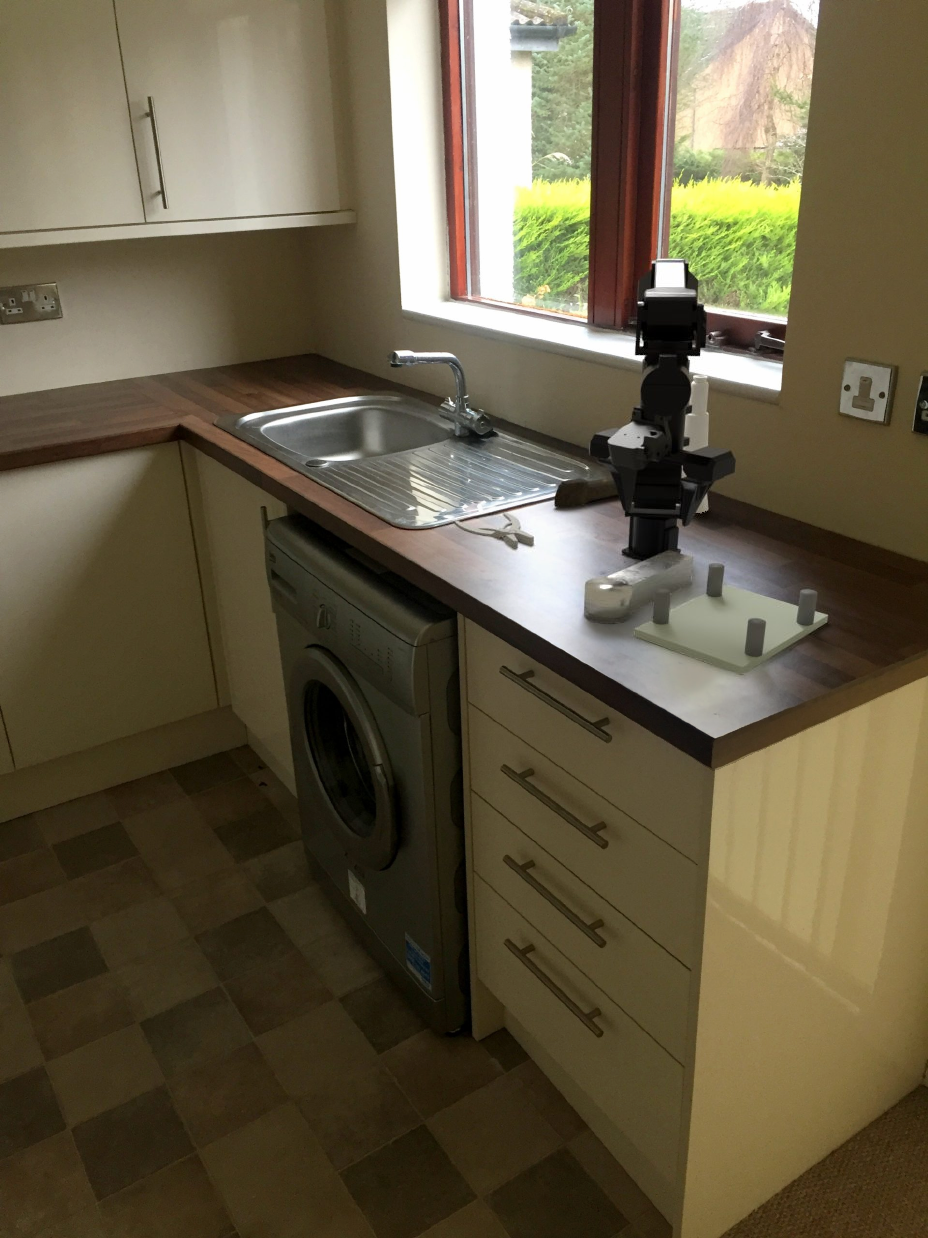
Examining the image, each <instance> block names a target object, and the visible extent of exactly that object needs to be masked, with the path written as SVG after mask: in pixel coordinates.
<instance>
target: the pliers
mask: <svg viewBox="0 0 928 1238" xmlns="http://www.w3.org/2000/svg"><path fill="white" fill-rule="evenodd" d="M502 515H503V516H504V517H505V518H507V519H508V522H507V523H505V524H504V525H503V526H502V527H499V528H498V529H497V528H493V527H482V526H481V527H474V526H470V525H467V523H463V522H461V521H459V520H454V524H455V525H456V526H458V527H459V528H460V529H461V530H463V531H466V532H468V533H470V534H471V533H472V534H476V535H480V536H487V537H493V538H498V539H500V538H502V539H503V541H504V542H505V543H507V544H508V545H509V546H511V547H512V548H514V549H516V548H517V549H518V547H519V543H518V542H521V543H524V544H526V545H529V546H534V544H535V536H533V534H530V533H528V532H526V531H524V530H521V522H520V520H519V519H518V518H517V516H514V515H513V514H511V513H508V512H503V513H502ZM507 527H509V528H507Z"/></svg>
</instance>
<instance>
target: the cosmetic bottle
mask: <svg viewBox="0 0 928 1238" xmlns="http://www.w3.org/2000/svg"><path fill="white" fill-rule="evenodd" d="M708 378H709V377H708V376H707V375H705V374H696V375H693V381H692V382H691V397H690V400H689V403H688V404H689V405H692V413H691V414H687V415H686V420H685V433H684V436H685V437H690V442H689V446H686V447H683V450H687V451H691V452H692V451H695V450H697V449H700V448H703V447H706V446H709V424H710V421H709V419H710V413H709V412H707V411H708V409H707V408H708V398H709V387H710V385H709V382H708V381H707V380H708ZM682 469H683V466H682ZM684 477H686V475H685V473H684V472H683V470H682V478H684ZM676 506H679V504H676ZM705 511H706V512H707V511H709V501H708V493H707V494H706V495H705V497H704V499H703V500H702V502H701V504H700V506H699V508H698V509H697V511H696V513H700V514H703V513H702V512H704V513H706V512H705Z"/></svg>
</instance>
